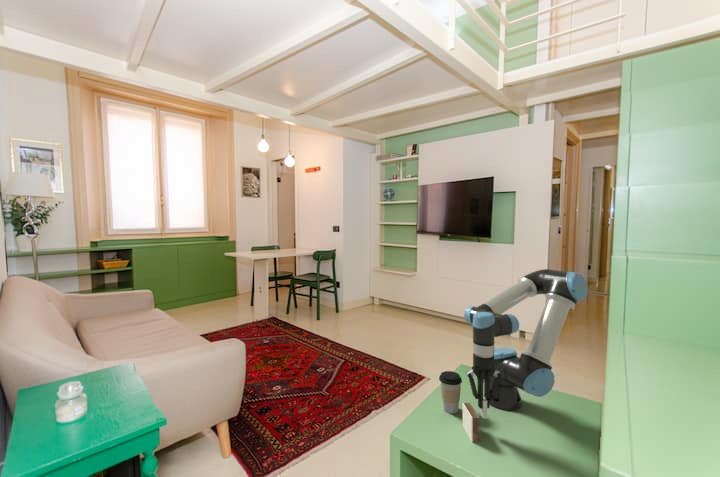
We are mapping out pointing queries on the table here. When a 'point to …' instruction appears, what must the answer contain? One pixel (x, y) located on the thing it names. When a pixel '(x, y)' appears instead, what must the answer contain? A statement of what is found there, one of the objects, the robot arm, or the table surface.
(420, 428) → the table surface
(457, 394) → the coffee cup
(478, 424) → the wooden block
